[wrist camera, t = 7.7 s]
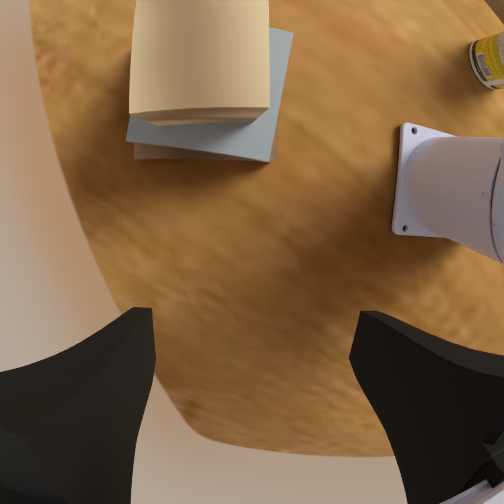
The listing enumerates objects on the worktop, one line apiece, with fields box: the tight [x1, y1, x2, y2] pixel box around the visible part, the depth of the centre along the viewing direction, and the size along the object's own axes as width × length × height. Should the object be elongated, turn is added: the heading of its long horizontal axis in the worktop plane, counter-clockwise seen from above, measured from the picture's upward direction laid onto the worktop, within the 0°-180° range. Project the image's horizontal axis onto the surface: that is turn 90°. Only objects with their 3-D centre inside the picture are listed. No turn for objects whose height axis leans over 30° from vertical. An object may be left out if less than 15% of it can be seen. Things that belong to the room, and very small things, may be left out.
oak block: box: [129, 0, 270, 126], centre depth 11 cm, size 4×4×5 cm
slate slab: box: [126, 27, 294, 162], centre depth 14 cm, size 7×7×2 cm
